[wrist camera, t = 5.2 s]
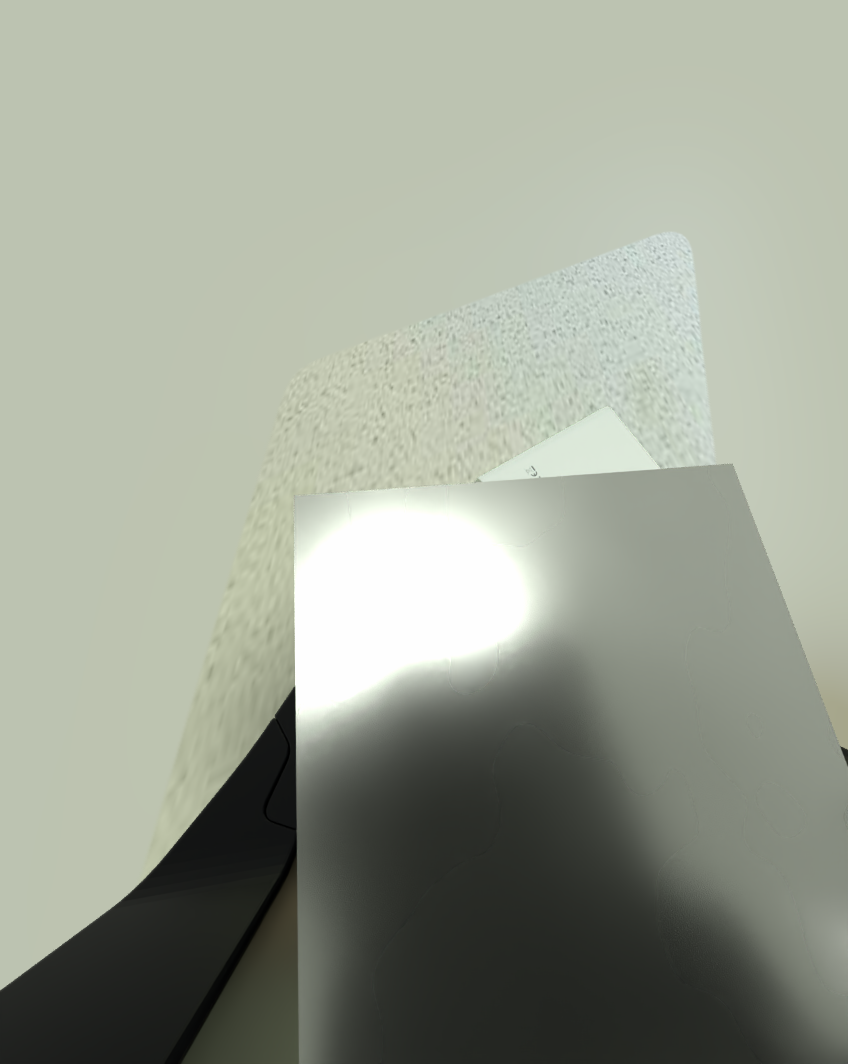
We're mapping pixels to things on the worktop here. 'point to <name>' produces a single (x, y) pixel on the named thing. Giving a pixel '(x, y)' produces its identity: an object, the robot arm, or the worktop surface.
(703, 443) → the worktop surface
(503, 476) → the external hard drive
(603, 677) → the tower
